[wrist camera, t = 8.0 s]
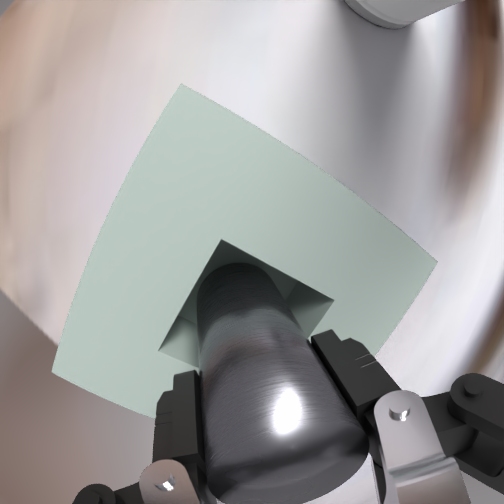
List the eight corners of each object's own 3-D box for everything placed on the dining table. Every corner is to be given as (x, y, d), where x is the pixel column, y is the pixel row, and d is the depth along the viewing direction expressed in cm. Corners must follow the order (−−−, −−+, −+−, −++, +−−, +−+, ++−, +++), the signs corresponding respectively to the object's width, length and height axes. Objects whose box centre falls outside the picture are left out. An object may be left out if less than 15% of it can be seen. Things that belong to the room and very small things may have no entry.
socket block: (387, 236, 19) (437, 261, 14) (269, 402, 21) (286, 454, 16) (186, 105, 15) (181, 83, 10) (79, 323, 17) (51, 372, 12)
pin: (292, 285, 16) (398, 433, 6) (250, 346, 16) (305, 512, 7) (222, 247, 15) (268, 404, 5) (182, 316, 15) (180, 498, 6)
